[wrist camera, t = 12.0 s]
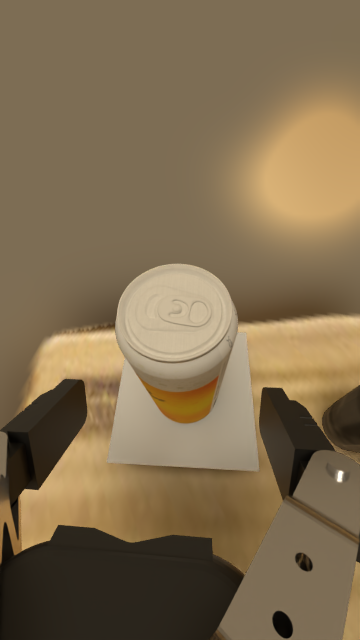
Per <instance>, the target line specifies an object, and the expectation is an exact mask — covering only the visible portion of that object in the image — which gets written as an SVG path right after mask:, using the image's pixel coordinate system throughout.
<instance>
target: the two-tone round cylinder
mask: <svg viewBox="0 0 360 640" xmlns="http://www.w3.org/2000/svg"><path fill="white" fill-rule="evenodd" d="M237 331H238V316H237V312H236V309H235V306H234V304H233V302H232V300H231V298H230V295H229V293H228V291H227V289H226V287H225V286H224V285H223V283H222V282H221V281H220V280H219V279H218V278H217V277H216V276H214V275H213V274H211V273H210V272H208V271H206V270H204V269H202V268H199V267H196V266H192V265H185V264H169V265H163V266H159V267H156V268H153V269H151V270H148V271H146V272H144V273H143V274H141V275H140V276H138V277H137V278H136V279H134V280H133V281H132V282H131V283H130V284H129V285H128V287H127V288H126V289H125V291H124V293H123V294H122V296H121V298H120V301H119V305H118V309H117V318H116V323H115V333H116V339H117V342H118V345H119V348H120V349H121V351H122V353H123V355H124V356H125V358H126V359H127V361H128V362H129V364H130V365H131V367H132V368H133V370H134V372H135V373H136V375H137V376H138V378H139V379H140V381H141V382H142V384H143V385H144V387H145V388H146V390H147V391H148V393H149V395H150V396H151V398H152V399H153V401H154V402H155V404H156V405H157V407H158V408H159V410H160V411H161V412H162V413H163V415H165V416H166V417H167V418H169V419H170V420H172V421H175V422H178V423H193V422H197V421H199V420H201V419H203V418H204V417H206V416H207V415H208V414H209V413H210V412H211V410H212V409H213V407H214V405H215V403H216V400H217V397H218V394H219V391H220V387H221V384H222V381H223V378H224V374H225V371H226V368H227V365H228V362H229V358H230V355H231V352H232V349H233V346H234V342H235V339H236V336H237Z"/></svg>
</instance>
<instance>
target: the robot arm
mask: <svg viewBox="0 0 360 640" xmlns="http://www.w3.org/2000/svg"><path fill="white" fill-rule="evenodd" d="M86 417H87V403H86V394H85V385H84V382H83V380H76V379H64V380H63V381H62V382H61V383H60V384H59V385H57V386H56V387H55V388H54V389H53V390H50V391H48V392H46V393H44V394H42V395H40V396H39V397H38V398H37V399H36V400H34V401H33V402H32V404H30V405H29V406H28V407H26V408H25V410H24V411H22V412H21V413H20V414H18V415H17V416H16V417H15V418H14V419H13V420H12V421H10V422H9V423H8V424H7V425H6V426H5V427H3V428H2V429H1V430H0V640H342V639H343V633H344V627H345V621H346V616H347V610H348V604H349V598H350V592H351V587H352V581H353V575H354V569H355V563H356V561H357V562H359V563H360V465H359V464H358V463H356V462H355V461H354V460H352V459H351V458H349V457H347V456H345V455H343V454H341V453H338V452H336V451H335V449H334V448H333V446H332V445H331V444H330V442H329V441H328V439H327V438H326V436H325V435H324V433H323V432H322V431H321V429H320V428H319V426H317V423H316V422H315V420H314V419H312V416H311V415H310V413H309V412H308V410H307V409H306V408H305V407H304V406H302V405H301V404H300V403H298V402H297V401H294V400H289V399H288V397H287V395H286V394H285V392H284V391H283V389H282V388H267V387H264V388H263V389H262V395H261V406H260V417H259V426H260V433H261V436H262V439H263V442H264V445H265V448H266V451H267V454H268V457H269V460H270V463H271V466H272V469H273V472H274V475H275V478H276V481H277V484H278V487H279V490H280V493H281V495H282V498H283V502H282V504H281V506H280V508H279V510H278V512H277V514H276V516H275V518H274V520H273V522H272V524H271V526H270V528H269V530H268V531H267V533H266V535H265V537H264V539H263V541H262V543H261V545H260V547H259V549H258V551H257V553H256V555H255V557H254V559H253V561H252V563H251V565H250V567H249V569H248V571H247V572H246V574H245V575H244V574H243V573H242V572H241V571H240V570H238V569H237V568H236V567H234V566H233V565H232V564H230V563H229V562H227V561H226V560H224V559H222V558H220V557H218V556H216V555H213V553H212V538H202V537H190V536H179V535H170V536H165V537H160V538H155V539H150V540H145V541H140V542H135V543H129V542H126V541H123V540H121V539H119V538H116V537H114V536H112V535H109V534H107V533H105V532H103V531H100V530H98V529H96V528H87V527H76V526H64V525H58V527H57V528H56V530H55V532H54V534H53V536H52V538H51V540H50V541H46V542H43V543H40V544H37V545H34V546H32V547H30V548H27V549H25V550H23V551H22V542H21V501H20V496H19V495H20V494H21V493H22V491H23V490H24V489H33V490H39V488H40V487H41V485H42V484H43V483H44V481H45V480H46V478H47V477H48V475H49V474H50V473H51V471H52V470H53V468H54V467H55V465H56V464H57V462H58V461H59V460H60V458H61V457H62V455H63V454H64V452H65V451H66V449H67V448H68V447H69V445H70V444H71V442H72V441H73V439H74V438H75V436H76V435H77V434H78V432H79V431H80V429H81V428H82V426H83V425H84V423H85V421H86Z"/></svg>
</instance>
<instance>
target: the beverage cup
mask: <svg viewBox="0 0 360 640" xmlns="http://www.w3.org/2000/svg"><path fill="white" fill-rule="evenodd" d="M322 425H323V428H324V431H325V433H326V435H327V436H328V438H329V439H330V440H331V441H332V442H333V443H334V444H335V445H336V446H338V447H340V448H341V449H344V450H348V451H356V452H360V385H359V386H358V387H356V388H355V389H353V390H352V391H351V392H349V393H348V394H346V395H345V396H344V397H342V398H341V399H339V400H338V401H337V402H335V403H334V404H333V405H332V406H331V407H330V408H328V409H327V410H326V411H325V412H324V415H323V418H322Z"/></svg>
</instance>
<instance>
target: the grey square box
mask: <svg viewBox="0 0 360 640" xmlns="http://www.w3.org/2000/svg"><path fill="white" fill-rule="evenodd" d="M107 463H120V464H138V465H155V466H173V467H190V468H207V469H225V470H242V471H259V460H258V450H257V440H256V430H255V419H254V409H253V399H252V389H251V378H250V368H249V358H248V348H247V337H246V333H237V336H236V339H235V342H234V346H233V349H232V352H231V355H230V358H229V362H228V365H227V368H226V371H225V374H224V378H223V381H222V384H221V387H220V391H219V394H218V397H217V400H216V403H215V405H214V407H213V409H212V410H211V412H210V413H209V414H208V415H207V416H206V417H204V418H203V419H201V420H199V421H197V422H193V423H178V422H175V421H172V420H170V419H169V418H167V417H166V416H165V415H163V413H162V412H161V411H160V410H159V408H158V407H157V405H156V404H155V402H154V401H153V399H152V398H151V396H150V395H149V393H148V391H147V390H146V388H145V387H144V385H143V384H142V382H141V381H140V379H139V378H138V376H137V375H136V373H135V372H134V370H133V368H132V367H131V365H130V364H129V362H128V361H127V359H126V358H125V360H124V366H123V372H122V377H121V383H120V389H119V395H118V401H117V406H116V412H115V418H114V424H113V429H112V435H111V441H110V447H109V453H108V458H107Z"/></svg>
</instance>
